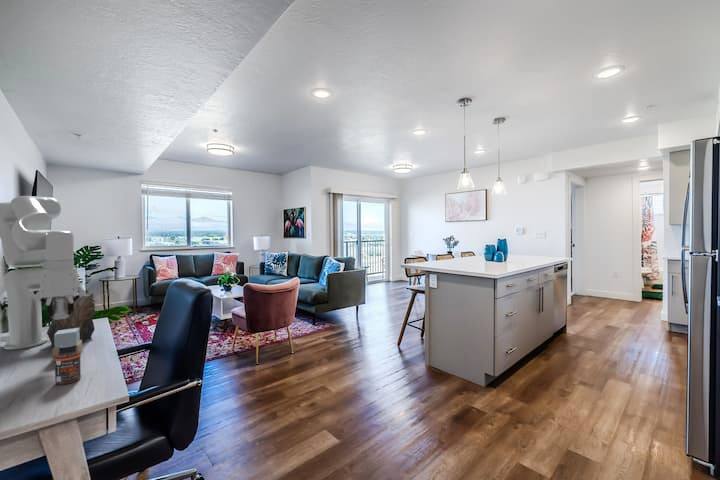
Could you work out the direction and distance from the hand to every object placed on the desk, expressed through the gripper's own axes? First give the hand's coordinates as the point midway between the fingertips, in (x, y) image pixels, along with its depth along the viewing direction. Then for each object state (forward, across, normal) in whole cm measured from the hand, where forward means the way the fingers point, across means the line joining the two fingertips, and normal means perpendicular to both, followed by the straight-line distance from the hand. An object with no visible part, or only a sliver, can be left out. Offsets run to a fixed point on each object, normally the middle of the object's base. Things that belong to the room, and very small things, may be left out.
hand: (61, 314), depth 116 cm
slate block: (+12, +1, +2) cm, 12 cm away
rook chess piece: (+2, 0, 0) cm, 2 cm away
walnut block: (+17, +1, +1) cm, 17 cm away
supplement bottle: (+16, +6, -24) cm, 30 cm away
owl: (+17, -1, +21) cm, 28 cm away
